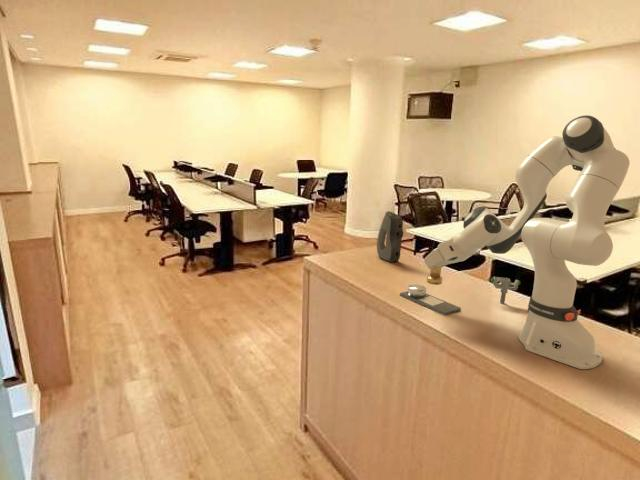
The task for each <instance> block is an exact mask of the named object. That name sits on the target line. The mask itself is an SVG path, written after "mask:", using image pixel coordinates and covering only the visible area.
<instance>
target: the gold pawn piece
mask: <svg viewBox="0 0 640 480" xmlns="http://www.w3.org/2000/svg"><path fill="white" fill-rule="evenodd" d="M441 266H442V265H441ZM441 266H437V267H436V268H434V269H432V270H430V269H429V270H430V271H429V274H428V275H427V276H426V283H428V284H430V285H434V286H441V285H442V284H443V279H444V278H443V277H442V276H441V273H442V268H441Z"/></svg>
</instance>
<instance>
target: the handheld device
mask: <svg viewBox="0 0 640 480" xmlns="http://www.w3.org/2000/svg"><path fill="white" fill-rule="evenodd" d="M403 227H404V221H403V219H402V217H401V216H400V215H399V214H396V213H395V212H393V211H388V210H387V211H386V212H385V213H384V216H383V218H382V220H381V224H380V227H379V231H378V233H377V234H378V235H377V240H376V250H377V255H378V257H379V258H380V259H381V260H384V261H386V262H388V263H390V264H392V262H399V260H400V259H401V251H402V242H403V241H402V240H403V236H404V231H403V229H404V228H403Z"/></svg>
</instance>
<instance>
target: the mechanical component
mask: <svg viewBox="0 0 640 480" xmlns="http://www.w3.org/2000/svg"><path fill="white" fill-rule="evenodd" d="M490 282H492V284H493V287H494V288H495V289H497V290H498V289H500V291H499V292H500V293H501V294H500V298H499V300H500V301H499V302H500V304H502V305H504V304H505V300H506V295H507V294H508V290H509V291H516V290H518V288H519V286H521V281H520V280H518V279H515V280H514V282H512V280H511V279H510V278H508V277H502V276H501V277H500V276H493V277H491V278H490Z"/></svg>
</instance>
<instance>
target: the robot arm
mask: <svg viewBox="0 0 640 480" xmlns="http://www.w3.org/2000/svg"><path fill="white" fill-rule="evenodd" d="M568 166H571V168H572V169H573V170H575V171H578V172H579V171H580V173H579V174H578V175H577V178H576V180H575V181H574V183H573V185H572V186H571V187H570V189H569V191H568V192H567V194H566V195H565V204H566V207H567V208H568V209H569V211H571V213H573V214H572V217H571V219H570V220H569V221H565V220H559V219H556V218H555V219H554V218H551V217H535V216H536V214H537V213H538V212H539V211H540V209H541V207H542V206H543V205H544V203H545V201H546V199H547V197H548V195H547V188H548V186H549V184H550V182H551V181H552V180H553V178H555V176H557V175H558V174H559V172H561V171H562V170H563V169H564V168H566V167H568ZM629 167H630V159H629V156H628V155H627V154H626V153H624V152H623V151H621V150H619V149H616V148H615V146H614V144H613V141H612V138H611V136H610V134H609V132H608V131H607V129H605V127H604V125H603V123H602V122H601V121H600V120H599V119H598V118H596V117H595V116H592V115H587V114H586V115H585V114H584V115H579V116H577V117H575V118H572V120H570V121H569V122H568V123H567V124H566V125H565V126H564V127H563V130H562V136H557V135H556V136H555V135H554V136H551V137H549V138H547V139H546V140H544V141H543V142H541V143H540V144H539V145H538V146H537V147H535V148H534V149H533V150H531V152H529V153H528V155H527V156H526V157H525V158H524V159H523V160H522V161H521V162H520V163H519V164H518V166H517V168H516V169H515V174H514V175H515V176H514V177H515V181H516V185H517V187H518V189H519V191H520V193H521V195H522V198H523V206H522V209H521V210H520V211H519V212H518V214H517V216H516V217H515V218H514V219H513V221H512V222H511V224H510V225H506V223H505V222H503V221H502V220H501V219H500V218H499V217H497V216H496V214H495V213H493V212H492V211H491V210H490V209H489V208H487V207H486V206H478V207H476V208H475V209H473V210H472V211H471V212H469V213H468V214H467V215H465V217H464V218H463V230H462V231H461V232H458V233H457V234H455V235H454V236H452V237H451V238H450V239H448V240H445V241H442V242H440V243H439V244H438V245H437V247H436V248H434V249H433V250H431V252H430V253H428V255H426V256H425V258H424V260H423V262H424V264H425V265H426V267H427V269H429V270H432V269H434V268H436V267H437V266H441V265H442V266H441V269H442V268H443V267H445V266H448V265H451V264H455V263H459V262H464V261H466V260H467V259H469V258H470V257H472V256H473V255H475V254H476V253H477V252H478V250H480V249H483V248H485V247H486V248H488V249H489V251H490V252H491V253H492V254H501V255H502V254H506V253H508V252H509V251H510V250H511V249H513V247H514V246H515V244H516V242H517V241H518V240H519V238H520V236H521V241H522V243H523V245H524V246H525V247H526V248H527V250H528V252H529V254H530V257H531V259H532V263H533V267H534V278H533V279H534V280H533V286H532V287H533V289H532V293H531V294H532V295H531V296H530V298H529V301H528V305H527V316H526V319H525V323H524V325H523V328H522V330H521V332H520V334H519V335H518V339H519V341H520V342H521V343H522V344H523V346H524V348H525V350H526V351H528V352H530V353H534V354H536V355H539V356H542V357H545V358H548V359H550V360H553V361H557V362H559V363H562V364H565V365H566V366H571V367H573V368H575V369H579V370H589V369H594V368H596V367H597V366H599V365H601V364H602V361H603V355H602V354H601V353H600V352H598V351H596V342H595V338H594V336H593V334H591V332H590V331H588V329H587V328H586V327H585V326H584V325H583V324H582V323H581V322H580V321H579V320H578V318H579V317H578V315H580V314H581V309H578V310H577V309H576V307H575V306H574V301H575V295H576V291H577V283H578V281H577V278H576V277H575V275H574V274H573V273H572V272H571V271H570V270H569V268H568V267H567V264H566V261H567V262H570V263H573V264H577V265H581V266H591V267H592V266H594V267H598V266H600V265H603V264H604V263H605V262H606V261H608V259H609V258H610V257H611V255H612V253H613V251H614V245H613V240H612V237H611V235H610V234H609V233H608V232H607V229H606V225H605V219H606V215H607V212H608V210H609V207H610V206H611V205H612V203H613V200H614V199H615V197H616V195H617V194H618V192H619V190H620V188H621V186H622V184H623V182H624V180H625V179H626V176H627V174H628V172H629V171H628V170H629Z"/></svg>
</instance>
